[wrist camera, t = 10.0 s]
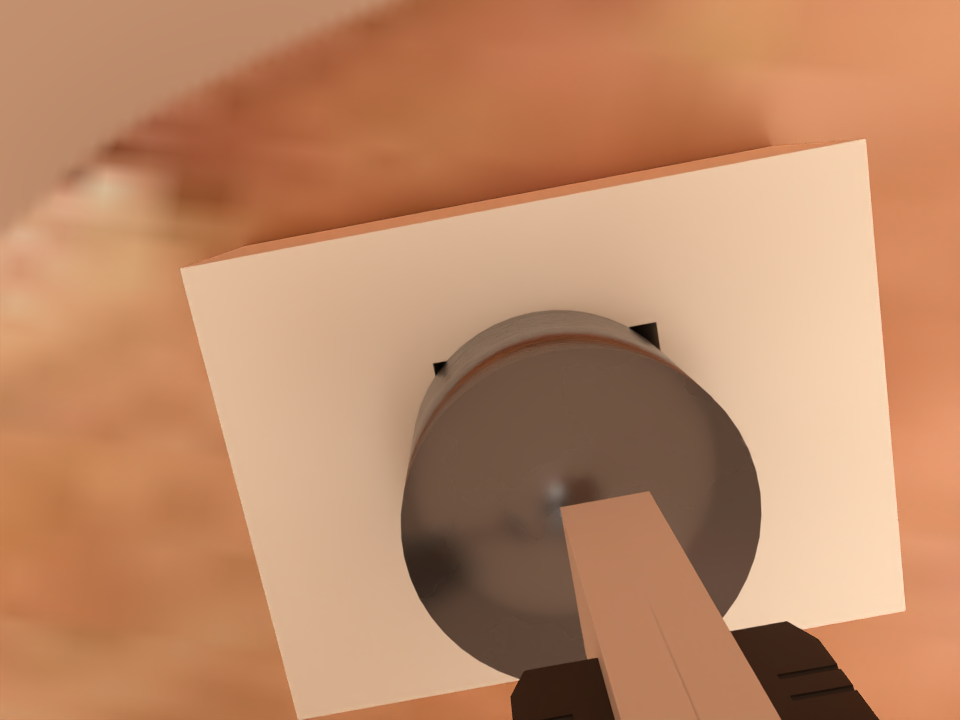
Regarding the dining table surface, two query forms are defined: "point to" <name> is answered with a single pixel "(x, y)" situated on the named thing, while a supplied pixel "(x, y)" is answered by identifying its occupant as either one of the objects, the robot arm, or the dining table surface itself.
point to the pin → (561, 478)
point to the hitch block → (541, 287)
